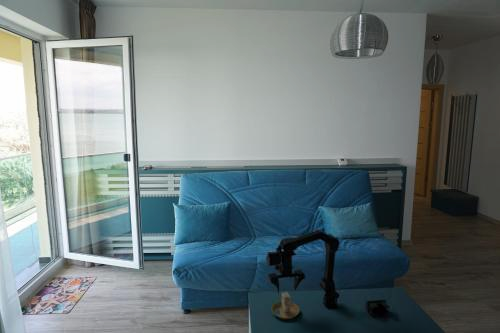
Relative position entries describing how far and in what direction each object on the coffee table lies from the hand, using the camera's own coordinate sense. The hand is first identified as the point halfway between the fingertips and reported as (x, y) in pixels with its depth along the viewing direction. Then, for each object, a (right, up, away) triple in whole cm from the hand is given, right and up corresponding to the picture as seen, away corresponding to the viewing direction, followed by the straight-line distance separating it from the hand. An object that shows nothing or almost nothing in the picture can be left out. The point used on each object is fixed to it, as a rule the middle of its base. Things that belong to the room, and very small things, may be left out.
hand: (286, 291), depth 174 cm
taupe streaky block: (0, -10, +1) cm, 10 cm away
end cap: (+48, -12, +1) cm, 49 cm away
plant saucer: (0, -12, +1) cm, 13 cm away
